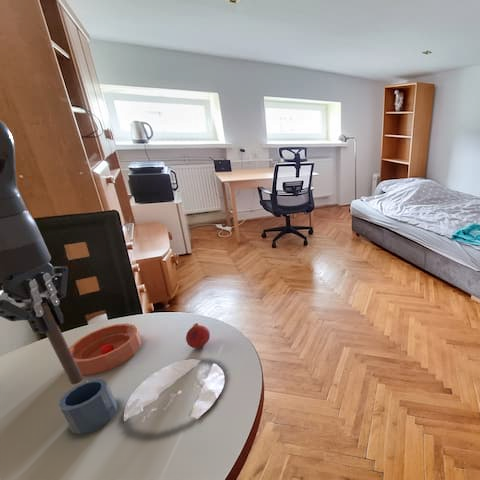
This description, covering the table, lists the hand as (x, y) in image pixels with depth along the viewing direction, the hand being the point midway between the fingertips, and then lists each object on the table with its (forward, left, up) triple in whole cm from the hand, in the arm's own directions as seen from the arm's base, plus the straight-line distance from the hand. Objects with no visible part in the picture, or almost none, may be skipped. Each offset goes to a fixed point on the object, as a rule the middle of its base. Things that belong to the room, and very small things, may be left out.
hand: (50, 327), depth 53 cm
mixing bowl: (-10, +20, -24) cm, 33 cm away
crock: (0, 0, -24) cm, 24 cm away
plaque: (+15, +4, -24) cm, 29 cm away
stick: (0, 0, -13) cm, 13 cm away
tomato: (-10, +20, -22) cm, 31 cm away
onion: (+14, +20, -24) cm, 34 cm away
